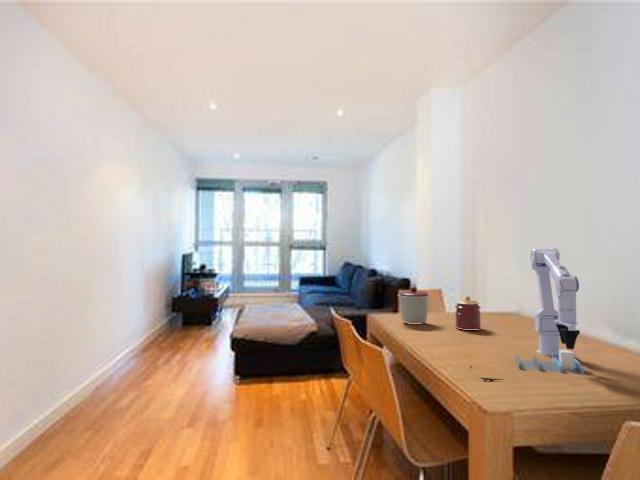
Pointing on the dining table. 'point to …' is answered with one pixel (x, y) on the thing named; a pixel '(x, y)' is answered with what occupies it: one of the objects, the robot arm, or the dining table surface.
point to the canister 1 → (414, 305)
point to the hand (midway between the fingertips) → (567, 346)
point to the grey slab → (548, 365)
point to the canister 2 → (468, 314)
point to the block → (566, 359)
